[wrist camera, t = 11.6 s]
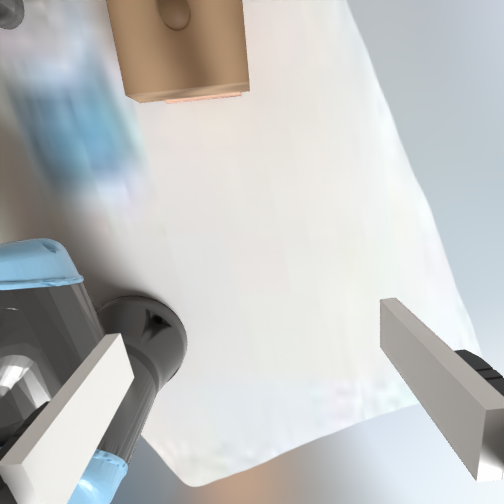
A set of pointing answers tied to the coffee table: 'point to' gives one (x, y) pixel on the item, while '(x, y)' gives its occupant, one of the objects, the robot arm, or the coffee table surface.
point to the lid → (180, 48)
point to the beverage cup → (11, 13)
